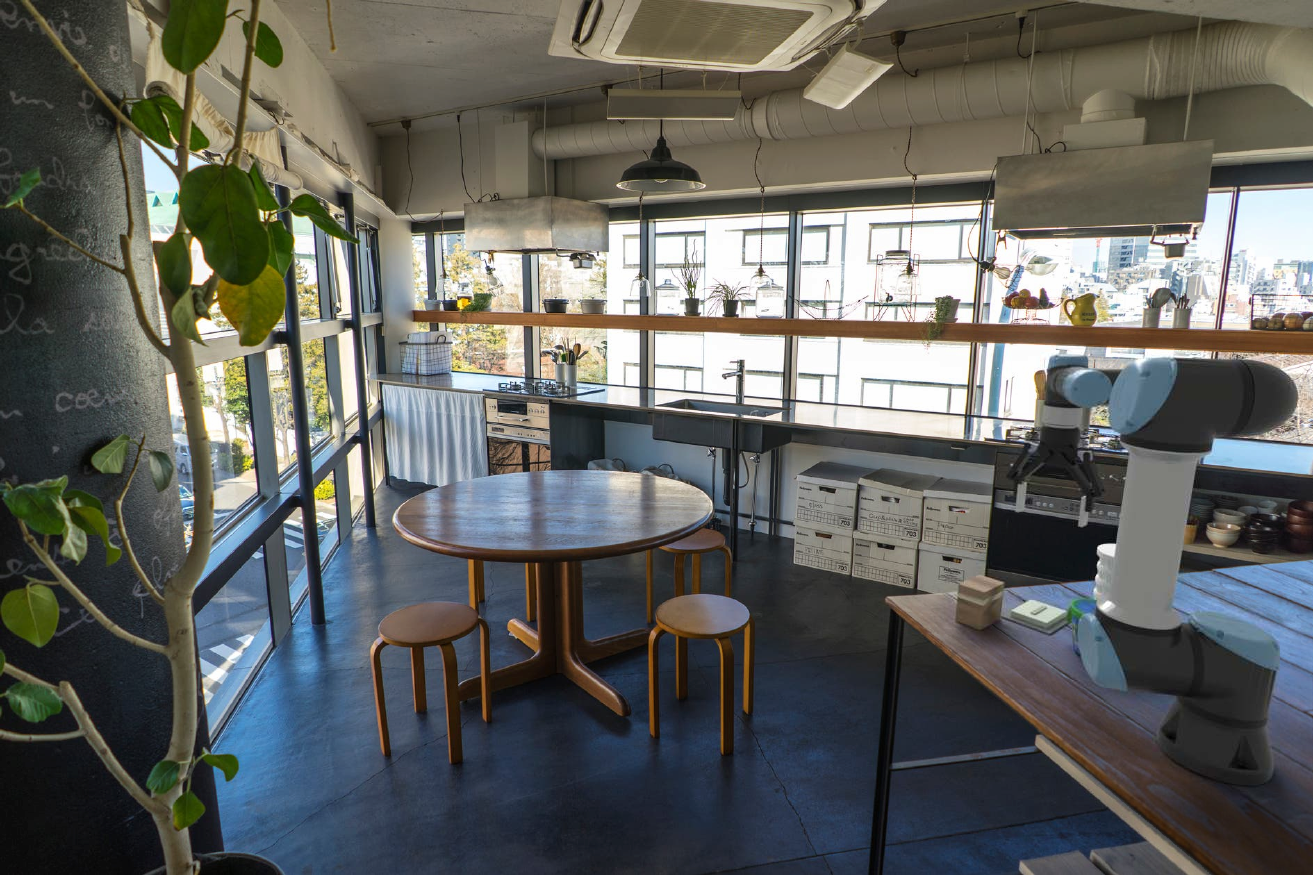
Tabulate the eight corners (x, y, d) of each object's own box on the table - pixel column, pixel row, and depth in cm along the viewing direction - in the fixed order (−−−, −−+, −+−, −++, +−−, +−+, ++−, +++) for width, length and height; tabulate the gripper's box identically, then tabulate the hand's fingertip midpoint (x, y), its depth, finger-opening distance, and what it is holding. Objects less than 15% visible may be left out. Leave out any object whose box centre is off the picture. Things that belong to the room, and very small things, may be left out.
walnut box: (980, 630, 160) (984, 592, 159) (954, 620, 165) (958, 583, 163) (1000, 619, 166) (1004, 582, 164) (975, 609, 171) (979, 574, 169)
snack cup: (1143, 673, 143) (1150, 626, 141) (1090, 673, 143) (1097, 626, 141) (1096, 636, 158) (1102, 593, 156) (1048, 636, 158) (1053, 592, 156)
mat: (1049, 634, 158) (1049, 633, 158) (1000, 617, 167) (1000, 615, 167) (1075, 618, 166) (1075, 617, 166) (1027, 602, 175) (1027, 601, 175)
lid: (1045, 628, 160) (1046, 621, 160) (1010, 616, 167) (1011, 609, 166) (1065, 616, 167) (1066, 609, 166) (1030, 604, 173) (1031, 598, 172)
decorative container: (1076, 625, 163) (1086, 550, 160) (1098, 611, 170) (1108, 539, 166) (1133, 644, 154) (1145, 566, 150) (1154, 629, 161) (1166, 554, 157)
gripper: (1131, 431, 150) (1118, 528, 154) (1012, 415, 169) (1003, 502, 173) (1117, 435, 146) (1104, 535, 150) (996, 419, 165) (987, 508, 169)
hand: (1050, 518), depth 162 cm, fingers open, 13 cm apart
